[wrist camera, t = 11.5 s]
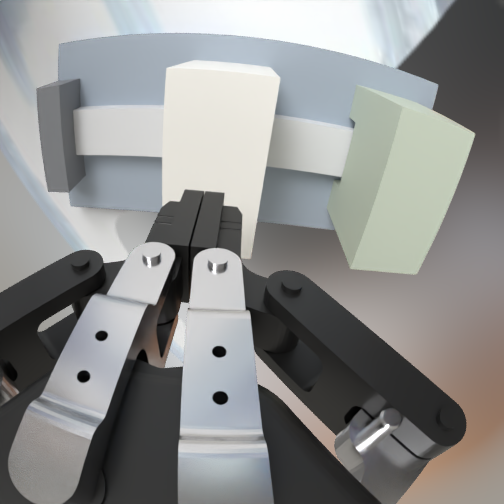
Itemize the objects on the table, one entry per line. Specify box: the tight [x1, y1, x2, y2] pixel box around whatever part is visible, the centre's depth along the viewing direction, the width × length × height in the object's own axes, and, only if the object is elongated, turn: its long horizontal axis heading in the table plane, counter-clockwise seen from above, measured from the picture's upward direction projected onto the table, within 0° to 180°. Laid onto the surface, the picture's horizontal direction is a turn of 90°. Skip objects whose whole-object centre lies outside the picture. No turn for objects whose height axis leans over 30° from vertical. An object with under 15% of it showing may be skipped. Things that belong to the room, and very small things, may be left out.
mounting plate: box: [37, 33, 475, 275], centre depth 19 cm, size 28×14×9 cm, turn 83°
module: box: [162, 60, 280, 259], centre depth 18 cm, size 5×10×8 cm, turn 172°
